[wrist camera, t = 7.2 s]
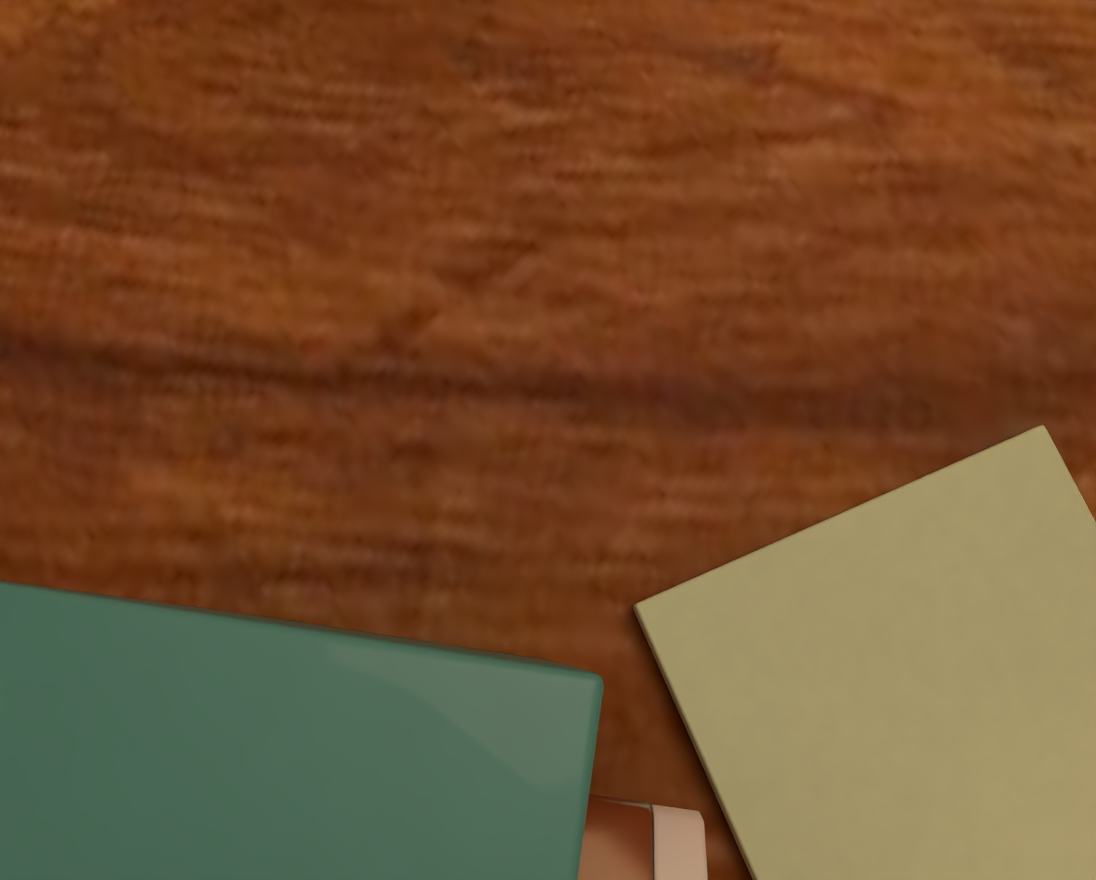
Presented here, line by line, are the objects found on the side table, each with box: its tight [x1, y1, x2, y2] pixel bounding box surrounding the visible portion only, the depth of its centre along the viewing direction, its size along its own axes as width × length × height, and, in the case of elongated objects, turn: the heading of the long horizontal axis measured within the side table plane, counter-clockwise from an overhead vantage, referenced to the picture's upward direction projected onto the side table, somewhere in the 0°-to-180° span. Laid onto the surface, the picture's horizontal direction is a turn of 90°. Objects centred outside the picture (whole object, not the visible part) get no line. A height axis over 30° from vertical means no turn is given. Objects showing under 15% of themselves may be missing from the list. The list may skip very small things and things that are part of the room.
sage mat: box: [633, 425, 1096, 880], centre depth 15 cm, size 7×7×1 cm
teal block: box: [0, 581, 604, 880], centre depth 11 cm, size 4×4×8 cm
